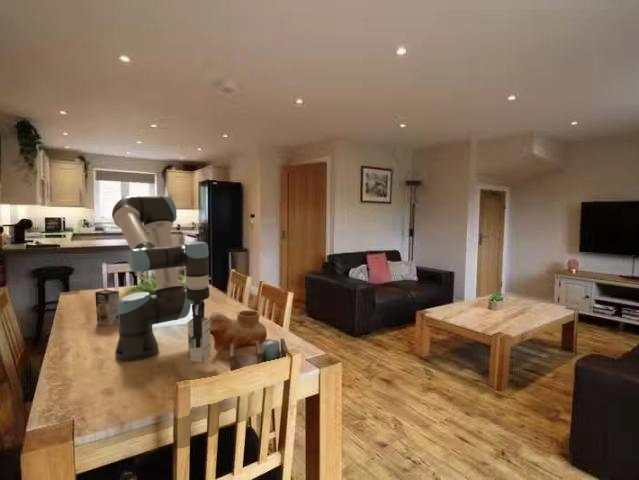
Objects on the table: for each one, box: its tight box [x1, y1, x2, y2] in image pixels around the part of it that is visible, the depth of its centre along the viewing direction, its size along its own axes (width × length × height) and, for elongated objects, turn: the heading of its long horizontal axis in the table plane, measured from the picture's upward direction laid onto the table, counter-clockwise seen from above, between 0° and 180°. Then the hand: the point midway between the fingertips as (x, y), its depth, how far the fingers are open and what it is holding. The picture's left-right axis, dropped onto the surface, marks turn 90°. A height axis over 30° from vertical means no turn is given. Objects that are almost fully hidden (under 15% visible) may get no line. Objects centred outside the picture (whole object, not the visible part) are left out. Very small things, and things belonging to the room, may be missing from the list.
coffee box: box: [94, 289, 120, 327], centre depth 180 cm, size 9×6×16 cm
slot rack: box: [229, 338, 289, 371], centre depth 132 cm, size 20×12×6 cm, turn 103°
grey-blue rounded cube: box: [262, 339, 281, 361], centre depth 133 cm, size 6×6×6 cm
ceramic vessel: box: [208, 310, 268, 352], centre depth 149 cm, size 14×26×15 cm, turn 115°
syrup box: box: [187, 317, 212, 364], centre depth 126 cm, size 6×6×14 cm
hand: (199, 350), depth 127 cm, fingers closed on syrup box, 7 cm apart
